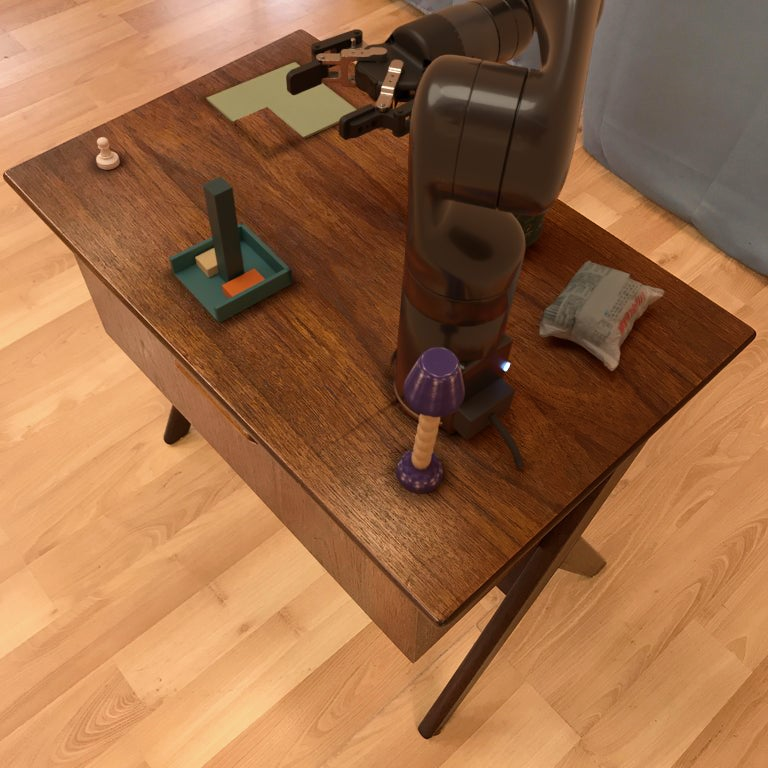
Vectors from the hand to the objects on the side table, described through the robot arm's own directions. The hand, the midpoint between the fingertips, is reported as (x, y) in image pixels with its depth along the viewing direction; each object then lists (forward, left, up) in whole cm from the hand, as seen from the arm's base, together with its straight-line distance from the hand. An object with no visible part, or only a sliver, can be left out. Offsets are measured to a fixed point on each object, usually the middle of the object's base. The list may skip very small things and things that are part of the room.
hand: (314, 107), depth 75 cm
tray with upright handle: (0, +11, -16) cm, 20 cm away
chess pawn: (+25, +12, -17) cm, 32 cm away
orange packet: (-2, +11, -16) cm, 20 cm away
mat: (+22, -11, -16) cm, 30 cm away
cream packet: (+3, +11, -16) cm, 20 cm away
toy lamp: (-30, +11, -17) cm, 36 cm away
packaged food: (-28, -15, -17) cm, 36 cm away
